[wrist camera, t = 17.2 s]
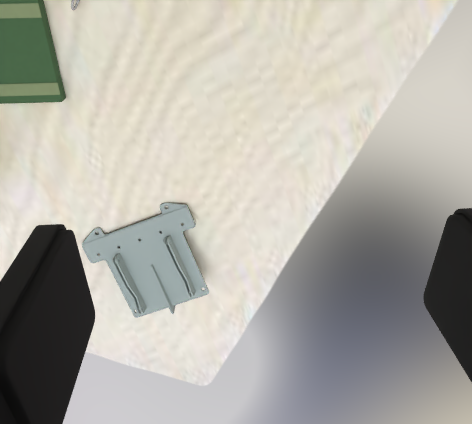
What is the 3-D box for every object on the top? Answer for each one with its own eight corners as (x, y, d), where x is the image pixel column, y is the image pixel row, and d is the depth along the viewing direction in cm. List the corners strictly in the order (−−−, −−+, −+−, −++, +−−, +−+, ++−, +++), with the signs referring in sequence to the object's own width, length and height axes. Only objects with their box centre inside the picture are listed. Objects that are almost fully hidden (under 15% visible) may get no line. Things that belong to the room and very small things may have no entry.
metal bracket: (224, 301, 53) (120, 334, 55) (227, 280, 58) (133, 312, 60) (180, 200, 49) (71, 240, 51) (188, 188, 54) (89, 225, 57)
